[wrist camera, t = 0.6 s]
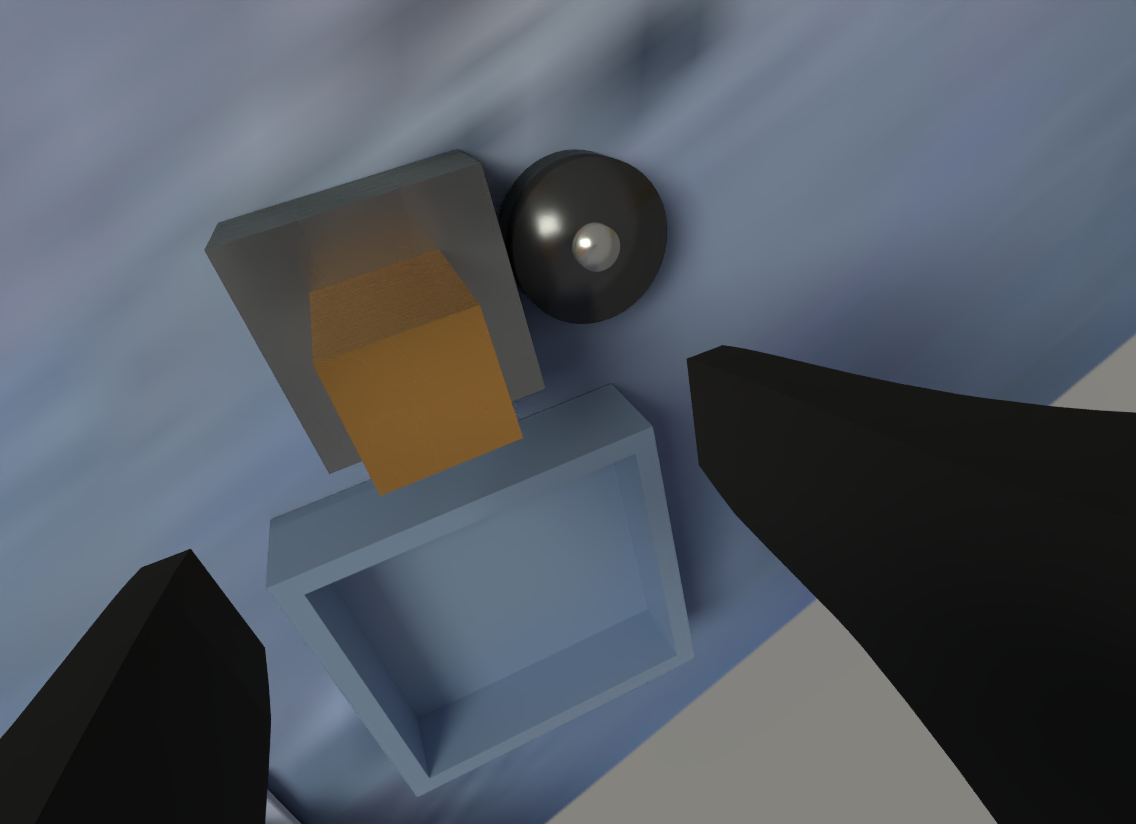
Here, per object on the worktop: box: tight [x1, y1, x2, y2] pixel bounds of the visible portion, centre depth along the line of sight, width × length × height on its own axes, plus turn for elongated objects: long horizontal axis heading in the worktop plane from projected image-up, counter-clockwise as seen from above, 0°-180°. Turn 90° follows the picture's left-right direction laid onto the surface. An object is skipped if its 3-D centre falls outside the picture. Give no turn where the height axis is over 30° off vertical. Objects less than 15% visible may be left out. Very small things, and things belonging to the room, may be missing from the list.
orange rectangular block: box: [310, 249, 523, 496], centre depth 14 cm, size 3×3×6 cm
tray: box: [266, 384, 695, 797], centre depth 22 cm, size 11×11×3 cm
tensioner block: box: [205, 149, 667, 474], centre depth 17 cm, size 11×6×3 cm, turn 103°
